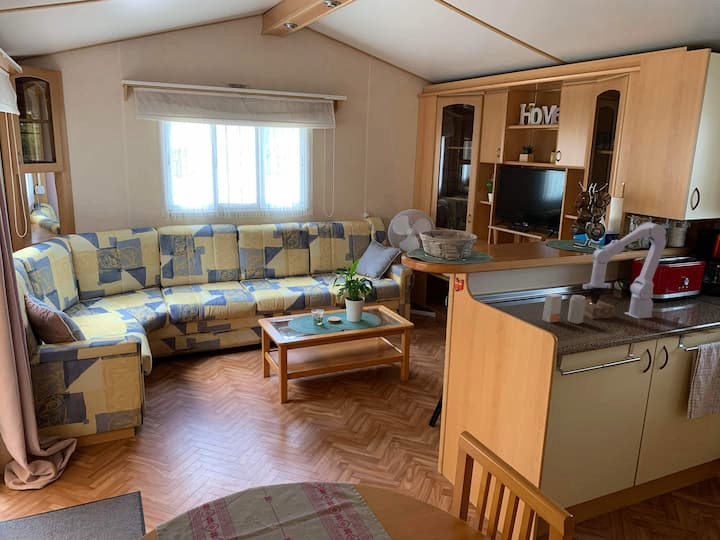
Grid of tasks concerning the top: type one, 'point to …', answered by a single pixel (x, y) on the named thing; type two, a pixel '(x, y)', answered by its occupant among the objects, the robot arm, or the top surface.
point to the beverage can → (576, 309)
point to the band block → (598, 310)
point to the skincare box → (552, 308)
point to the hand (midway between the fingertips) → (594, 303)
